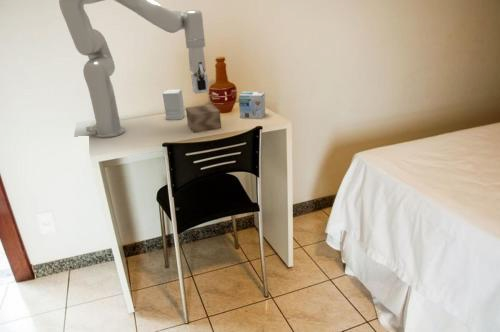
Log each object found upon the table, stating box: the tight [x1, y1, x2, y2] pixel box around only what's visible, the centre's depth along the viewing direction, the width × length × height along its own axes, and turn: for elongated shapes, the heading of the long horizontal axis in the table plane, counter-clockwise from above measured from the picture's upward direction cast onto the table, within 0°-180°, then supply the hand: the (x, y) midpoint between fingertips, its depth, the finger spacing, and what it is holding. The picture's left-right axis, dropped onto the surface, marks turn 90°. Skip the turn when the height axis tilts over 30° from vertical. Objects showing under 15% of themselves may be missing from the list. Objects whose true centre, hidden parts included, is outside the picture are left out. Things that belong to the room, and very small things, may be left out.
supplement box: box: [162, 88, 186, 121], centre depth 185 cm, size 7×7×13 cm
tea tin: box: [190, 72, 210, 95], centre depth 165 cm, size 6×6×7 cm
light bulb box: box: [238, 91, 266, 120], centre depth 181 cm, size 11×7×11 cm, turn 73°
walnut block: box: [185, 103, 222, 134], centre depth 172 cm, size 12×12×8 cm
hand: (200, 87), depth 166 cm, fingers closed on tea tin, 5 cm apart
